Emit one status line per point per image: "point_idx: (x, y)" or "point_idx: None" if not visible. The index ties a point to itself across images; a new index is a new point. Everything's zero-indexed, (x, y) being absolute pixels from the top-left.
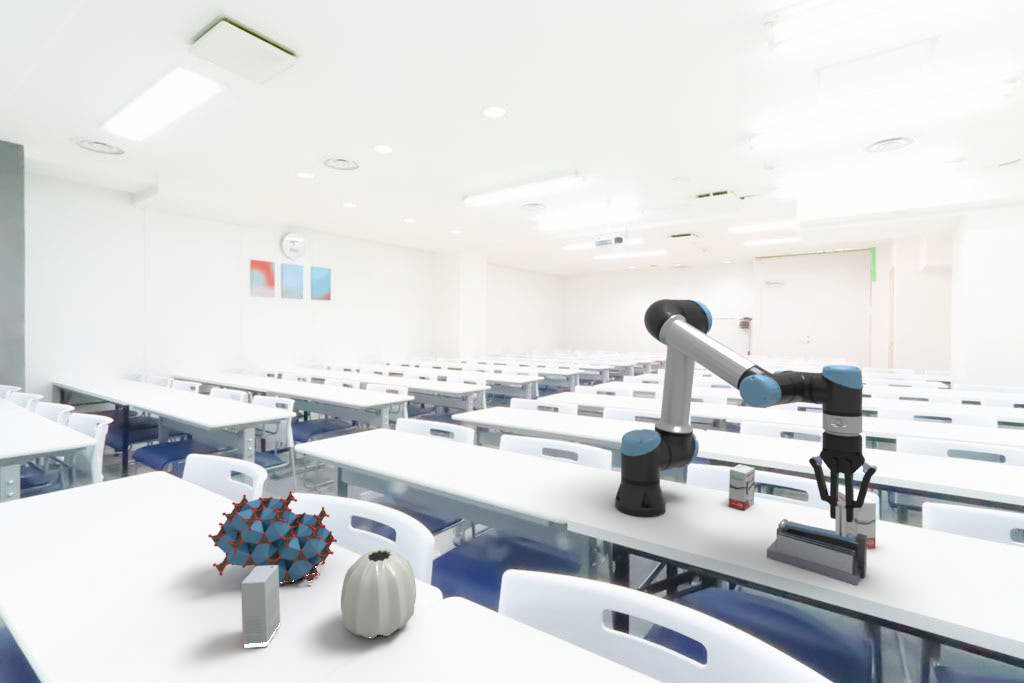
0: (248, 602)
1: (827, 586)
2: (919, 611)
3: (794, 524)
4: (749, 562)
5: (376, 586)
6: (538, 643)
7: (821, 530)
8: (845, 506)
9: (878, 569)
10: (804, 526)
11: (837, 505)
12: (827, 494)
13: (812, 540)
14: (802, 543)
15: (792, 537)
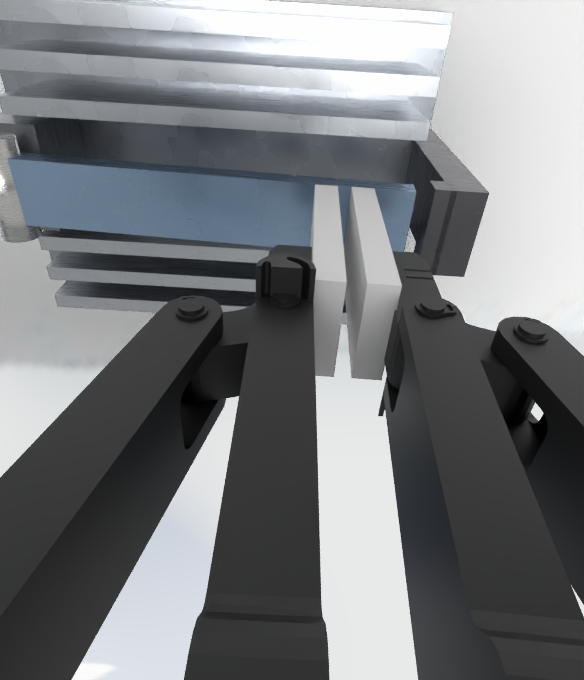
0: None
1: None
2: (555, 323)
3: (66, 194)
4: (54, 329)
5: None
6: None
7: (226, 216)
8: (381, 414)
9: (497, 21)
10: (125, 196)
11: (314, 335)
12: (207, 344)
13: (205, 259)
14: None
15: (120, 283)
